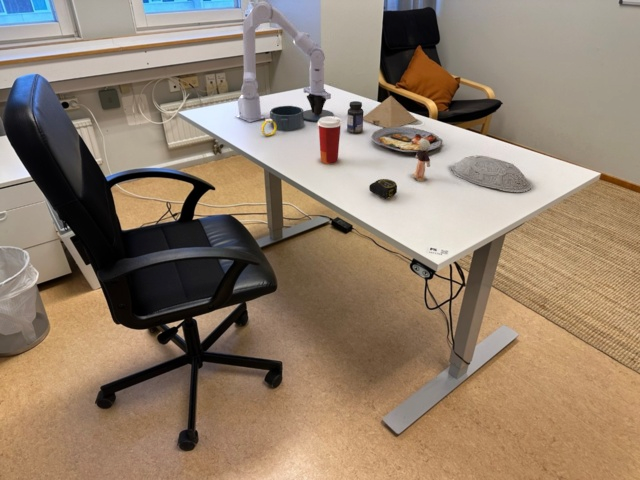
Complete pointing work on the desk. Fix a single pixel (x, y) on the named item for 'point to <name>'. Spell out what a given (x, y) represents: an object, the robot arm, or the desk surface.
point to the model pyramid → (389, 114)
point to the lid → (314, 116)
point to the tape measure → (384, 188)
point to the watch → (268, 122)
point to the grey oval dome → (491, 173)
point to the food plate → (405, 138)
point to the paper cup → (329, 138)
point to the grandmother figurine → (422, 160)
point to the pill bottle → (355, 117)
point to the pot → (287, 118)
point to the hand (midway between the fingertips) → (316, 113)
